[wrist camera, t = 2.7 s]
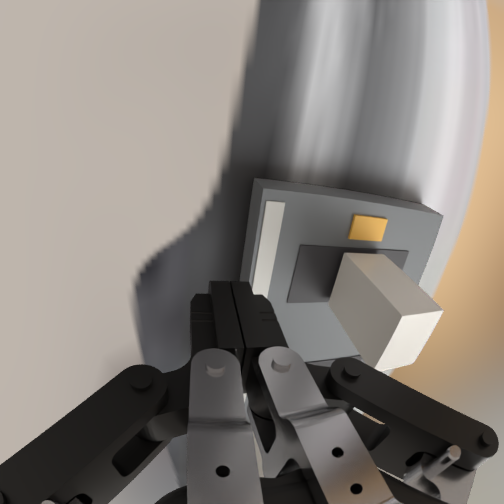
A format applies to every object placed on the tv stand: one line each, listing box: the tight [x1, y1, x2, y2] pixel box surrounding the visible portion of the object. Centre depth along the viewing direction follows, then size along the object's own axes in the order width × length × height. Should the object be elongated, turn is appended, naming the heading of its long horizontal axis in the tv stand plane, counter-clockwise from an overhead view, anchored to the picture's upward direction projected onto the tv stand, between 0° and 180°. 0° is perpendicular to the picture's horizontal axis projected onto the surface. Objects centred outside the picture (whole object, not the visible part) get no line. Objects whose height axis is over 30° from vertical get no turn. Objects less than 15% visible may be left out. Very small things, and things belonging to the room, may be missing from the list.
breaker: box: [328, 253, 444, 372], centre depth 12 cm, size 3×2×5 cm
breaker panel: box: [240, 178, 443, 430], centre depth 19 cm, size 24×11×2 cm, turn 172°
